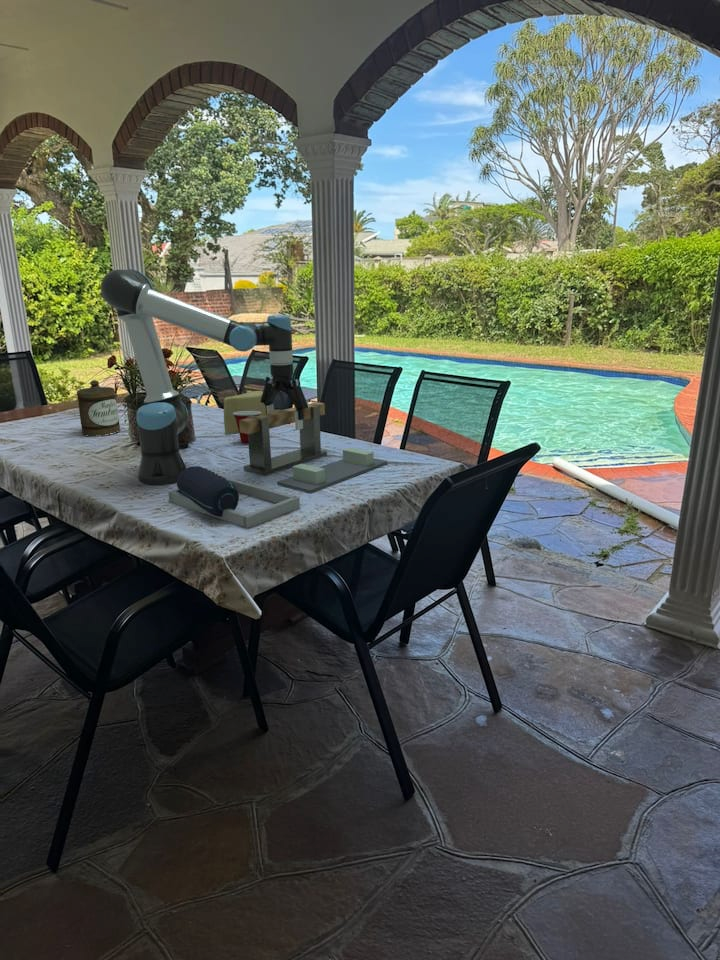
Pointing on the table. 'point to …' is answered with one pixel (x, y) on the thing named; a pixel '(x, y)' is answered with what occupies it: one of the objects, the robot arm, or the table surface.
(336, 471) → the plate with green blocks
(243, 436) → the plastic cup
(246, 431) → the rail
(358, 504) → the table surface
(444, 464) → the table surface
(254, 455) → the grey notched post stand
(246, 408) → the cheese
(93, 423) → the wooden container
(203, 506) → the portable speaker
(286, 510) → the speaker dock
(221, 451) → the table surface
